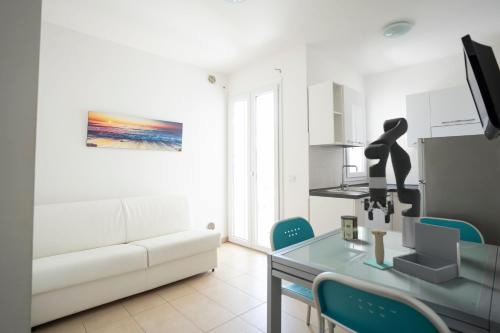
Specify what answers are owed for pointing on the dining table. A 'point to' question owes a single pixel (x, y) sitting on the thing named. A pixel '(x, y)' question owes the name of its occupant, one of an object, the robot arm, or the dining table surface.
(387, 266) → the pad
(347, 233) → the coffee can
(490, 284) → the dining table surface
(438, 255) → the case
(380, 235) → the handle
